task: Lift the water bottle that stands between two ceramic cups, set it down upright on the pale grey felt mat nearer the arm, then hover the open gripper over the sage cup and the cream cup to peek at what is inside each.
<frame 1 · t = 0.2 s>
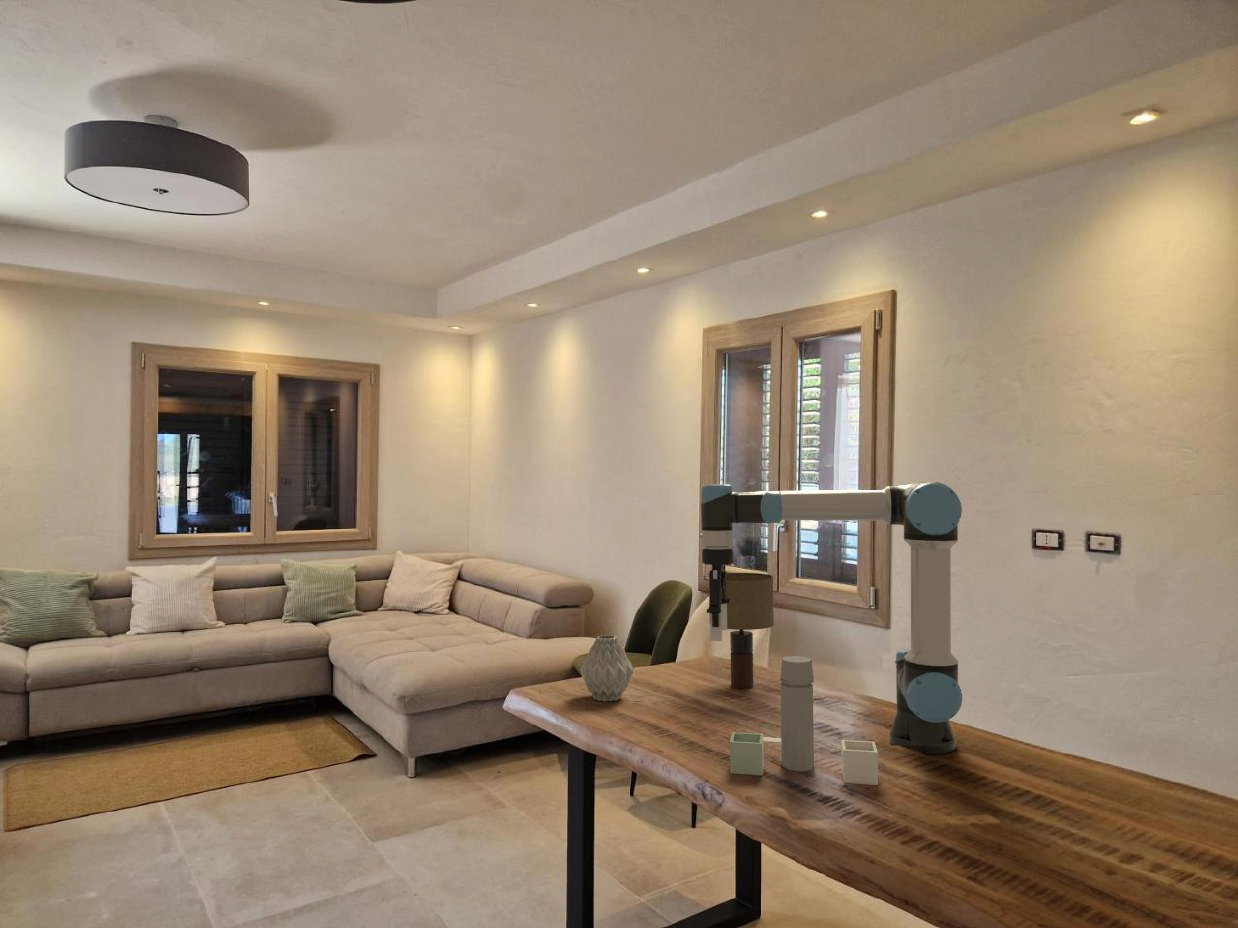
hand: (719, 635, 195), 28 cm above the table, fingers open, 13 cm apart
lamp: (742, 687, 255), on the table
water bottle: (797, 770, 182), on the table
felt mat: (764, 748, 196), on the table
sage cup: (747, 773, 179), on the table
cream cup: (859, 783, 173), on the table
vase: (607, 698, 242), on the table
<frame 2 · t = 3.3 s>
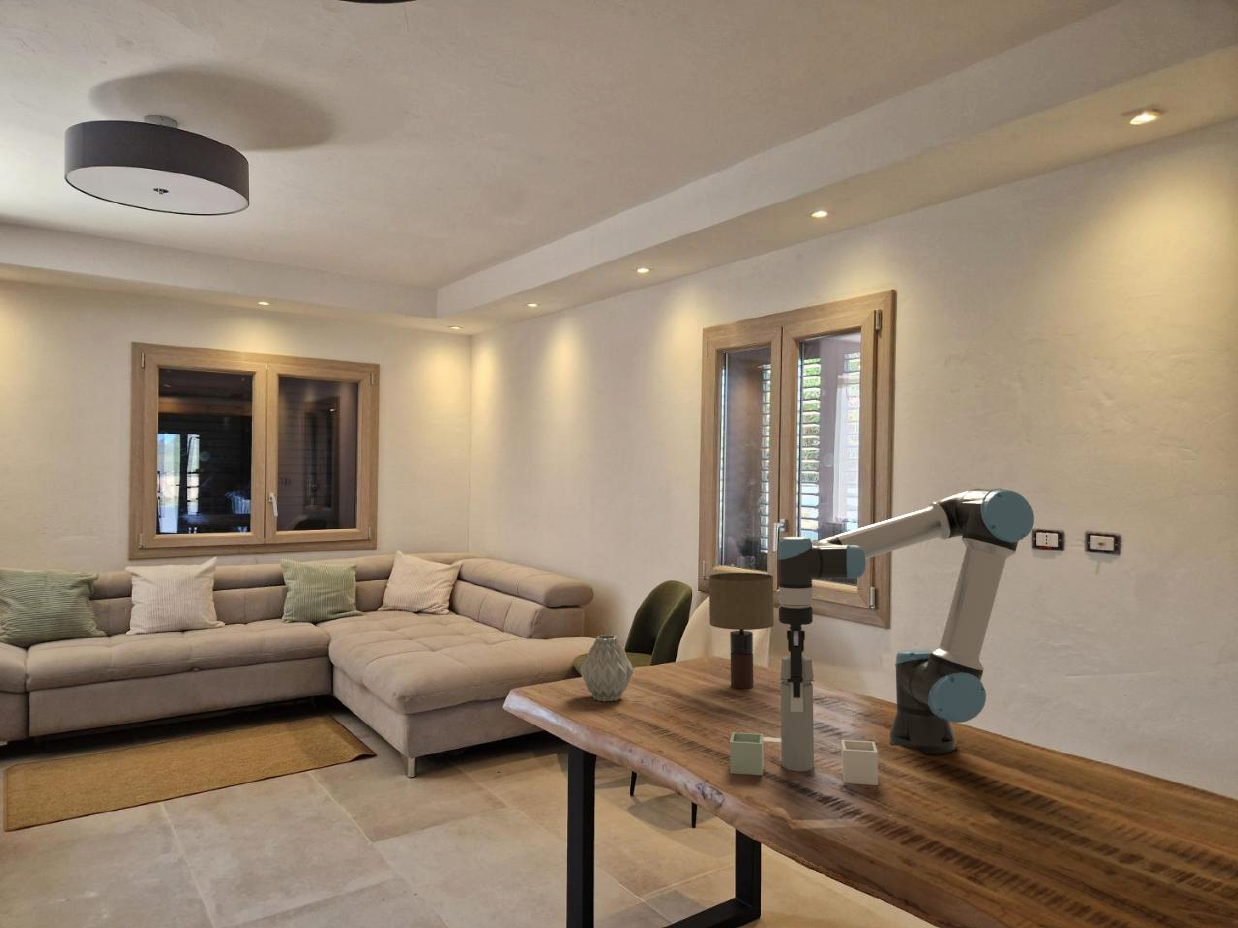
hand: (796, 705, 182), 14 cm above the table, fingers closed on water bottle, 8 cm apart
water bottle: (797, 769, 182), on the table, touching gripper
everything else where it was.
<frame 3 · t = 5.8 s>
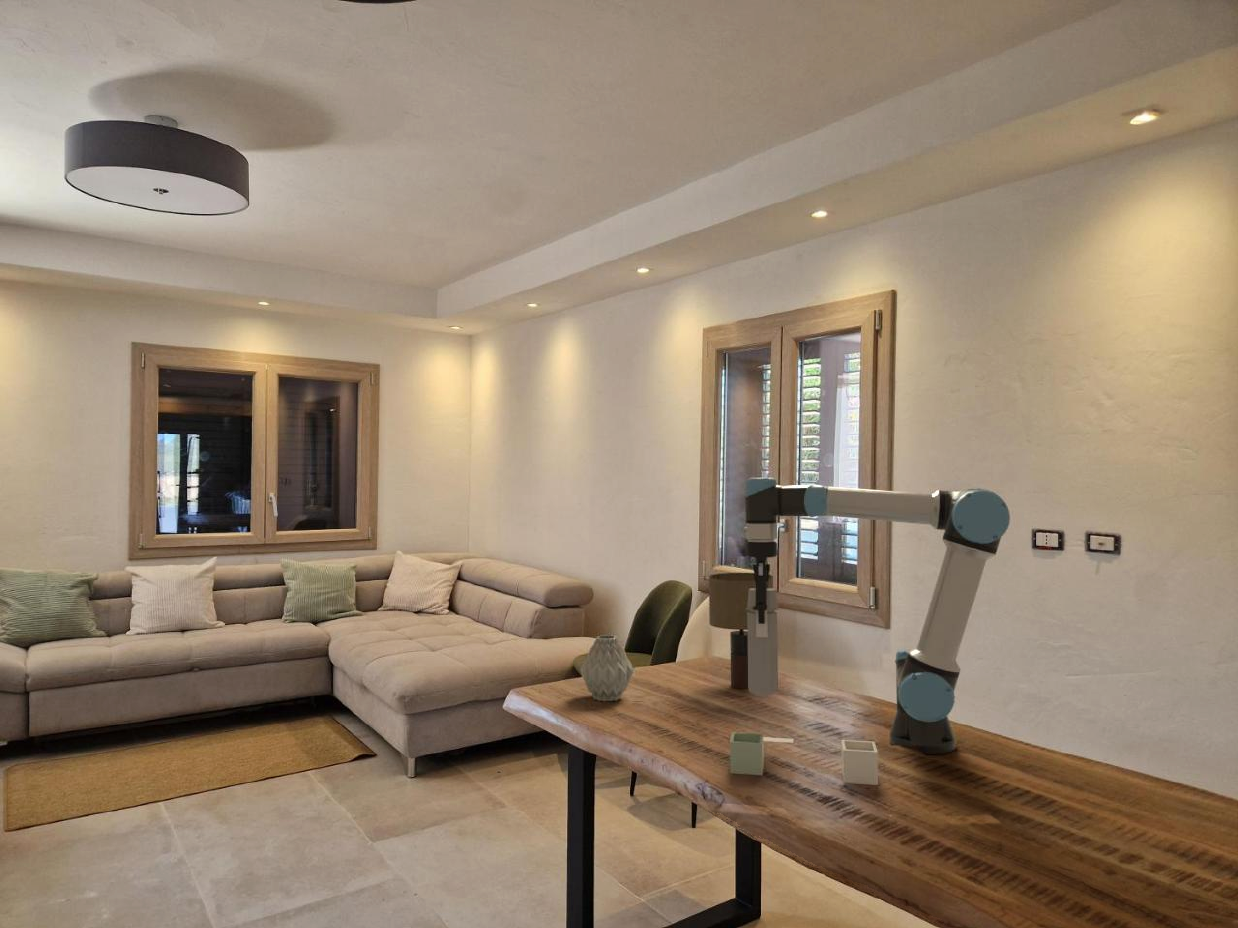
hand: (762, 633, 196), 28 cm above the table, fingers closed on water bottle, 8 cm apart
water bottle: (763, 692, 196), point 14 cm above the table, touching gripper
everything else where it was.
when the fingers open (16 cm above the table, at t = 8.4 s): water bottle stays where it is, resting on felt mat.
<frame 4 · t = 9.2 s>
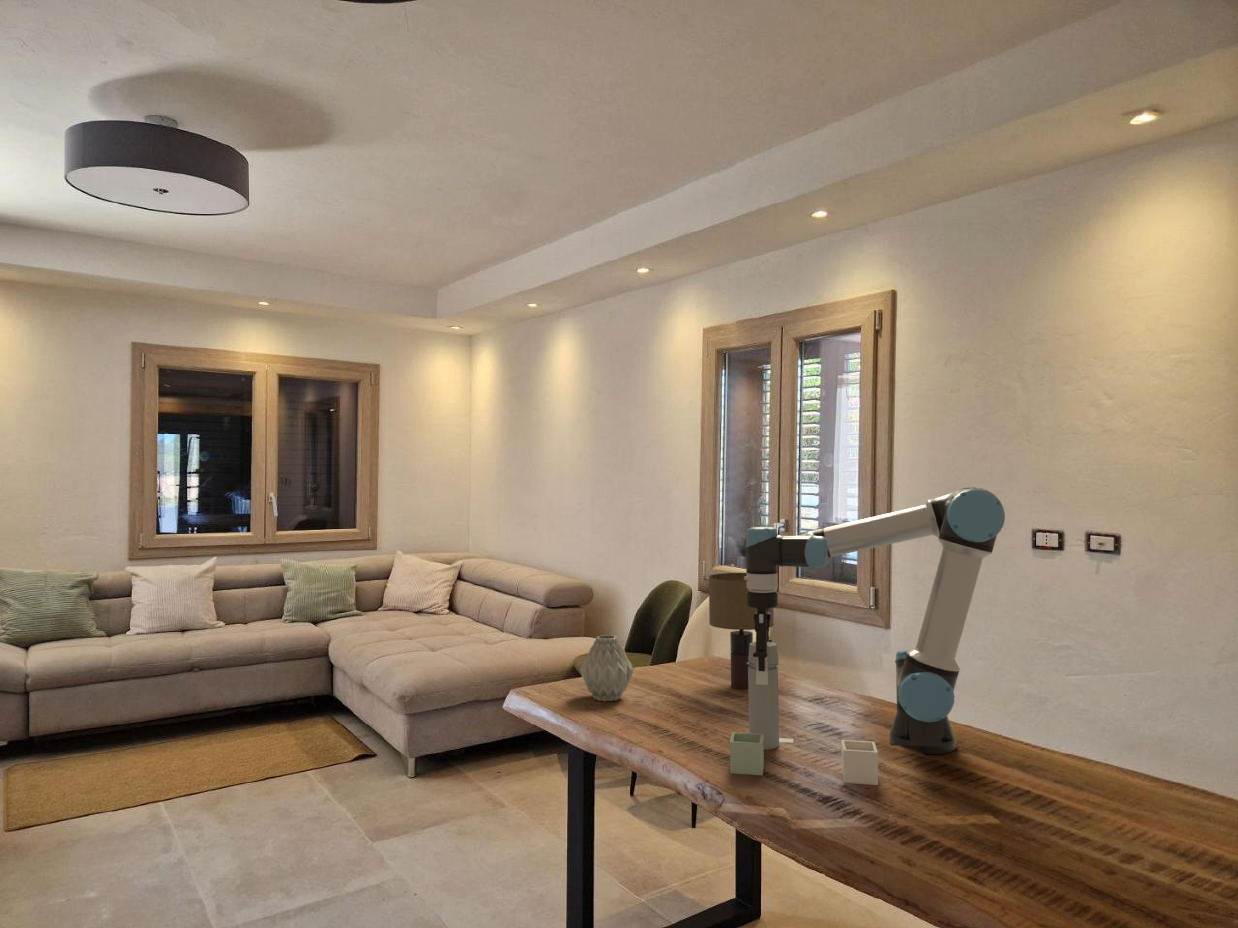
hand: (763, 677, 196), 17 cm above the table, fingers open, 13 cm apart
water bottle: (764, 746, 196), resting on felt mat
everything else where it was.
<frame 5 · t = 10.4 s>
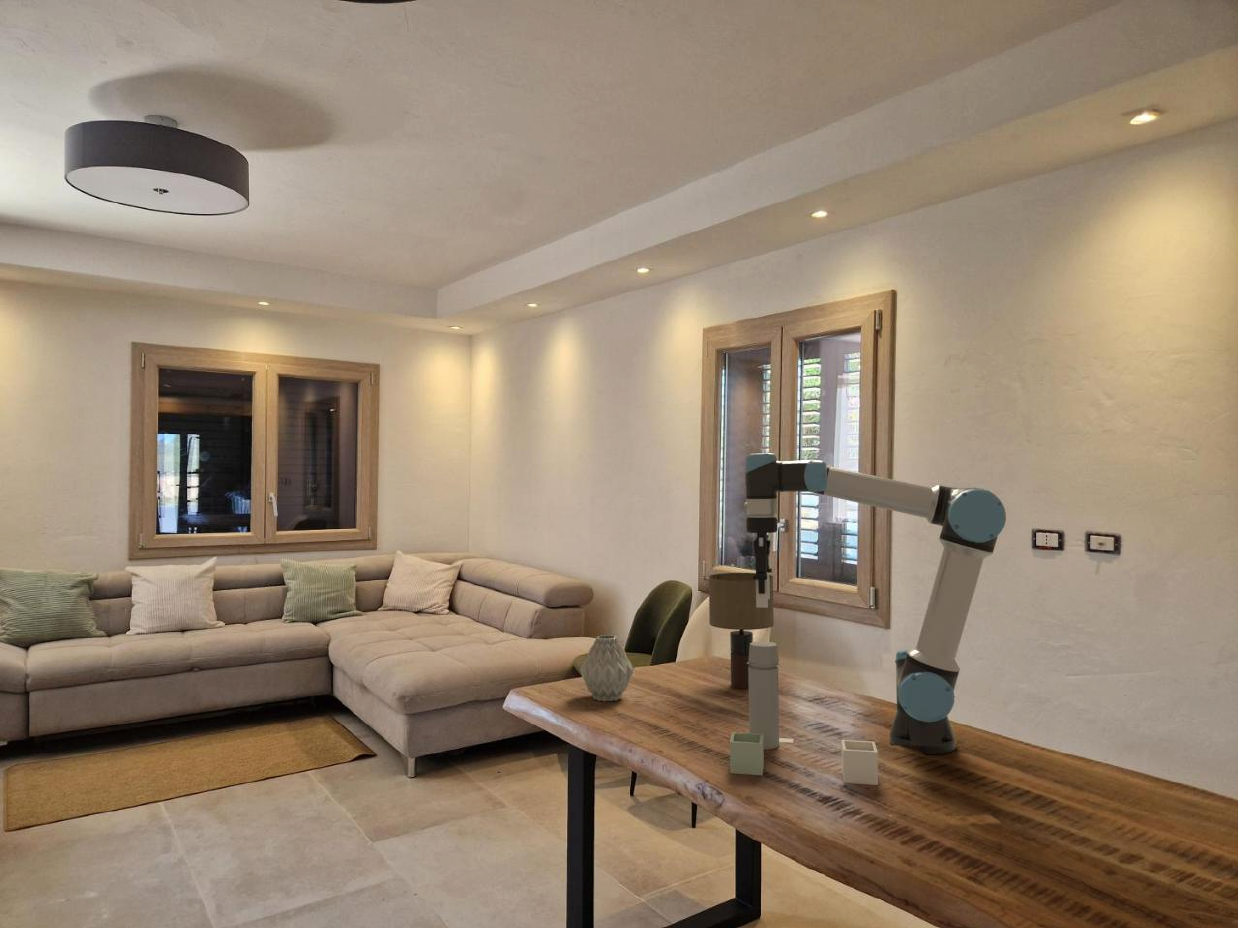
hand: (763, 603, 197), 35 cm above the table, fingers open, 13 cm apart
nothing on the table moved.
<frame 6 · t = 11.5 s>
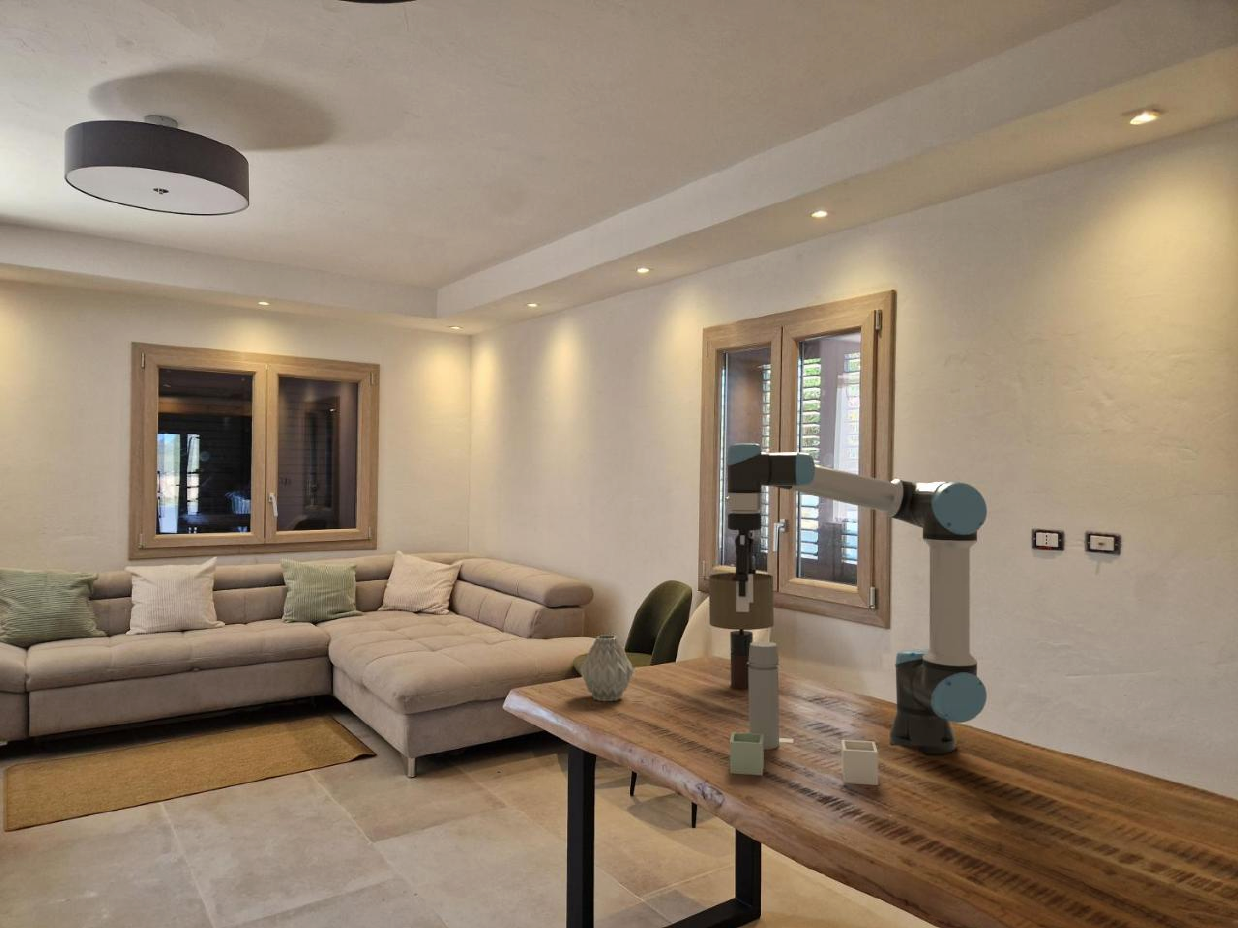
hand: (744, 606, 180), 37 cm above the table, fingers open, 13 cm apart
nothing on the table moved.
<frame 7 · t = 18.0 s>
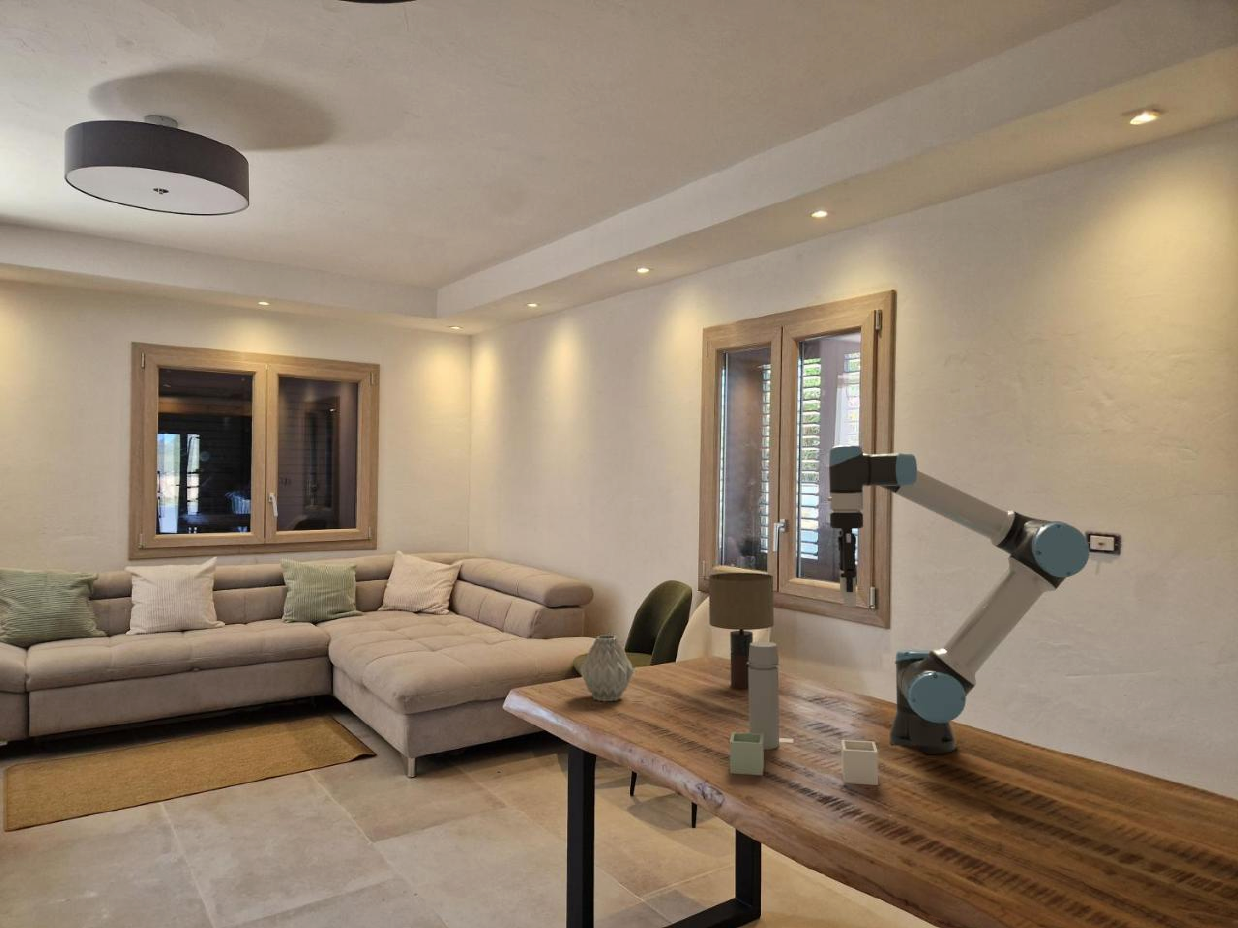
hand: (847, 601, 189), 37 cm above the table, fingers open, 13 cm apart
nothing on the table moved.
at the end: water bottle inside the target area (0.1 cm from its centre), resting on felt mat; water bottle tilted 0°; the gripper is holding nothing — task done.
